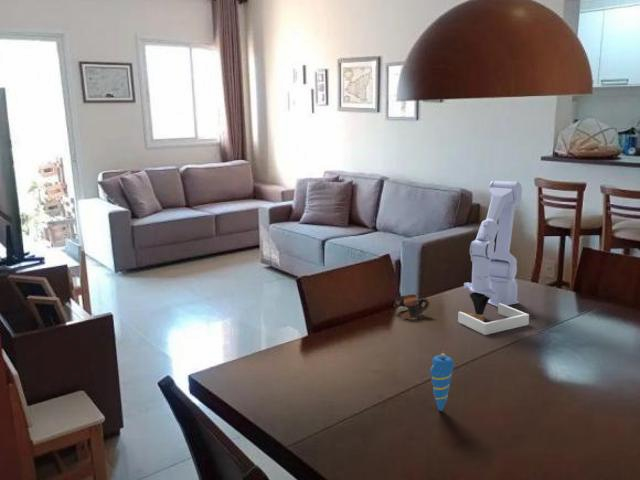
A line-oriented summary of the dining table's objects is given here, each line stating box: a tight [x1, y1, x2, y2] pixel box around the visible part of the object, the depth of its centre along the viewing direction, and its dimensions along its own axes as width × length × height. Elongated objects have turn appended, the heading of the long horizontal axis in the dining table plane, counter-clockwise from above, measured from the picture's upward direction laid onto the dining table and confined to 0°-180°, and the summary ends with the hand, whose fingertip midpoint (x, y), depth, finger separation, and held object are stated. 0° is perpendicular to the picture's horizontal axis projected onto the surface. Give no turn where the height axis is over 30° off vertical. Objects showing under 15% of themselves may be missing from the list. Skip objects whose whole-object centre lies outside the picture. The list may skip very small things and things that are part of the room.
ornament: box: [429, 350, 455, 412], centre depth 131 cm, size 5×5×15 cm
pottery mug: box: [393, 293, 431, 320], centre depth 197 cm, size 12×10×8 cm
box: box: [457, 303, 530, 336], centre depth 186 cm, size 18×13×4 cm
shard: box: [464, 312, 485, 322], centre depth 187 cm, size 11×8×2 cm
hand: (479, 314), depth 192 cm, fingers closed
